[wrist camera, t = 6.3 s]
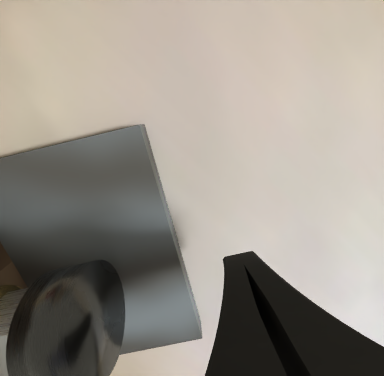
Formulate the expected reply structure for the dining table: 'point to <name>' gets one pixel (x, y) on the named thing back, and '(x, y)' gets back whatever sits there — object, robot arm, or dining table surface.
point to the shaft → (63, 323)
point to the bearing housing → (99, 228)
